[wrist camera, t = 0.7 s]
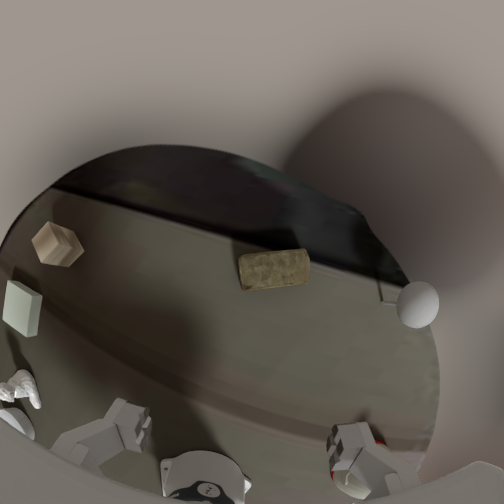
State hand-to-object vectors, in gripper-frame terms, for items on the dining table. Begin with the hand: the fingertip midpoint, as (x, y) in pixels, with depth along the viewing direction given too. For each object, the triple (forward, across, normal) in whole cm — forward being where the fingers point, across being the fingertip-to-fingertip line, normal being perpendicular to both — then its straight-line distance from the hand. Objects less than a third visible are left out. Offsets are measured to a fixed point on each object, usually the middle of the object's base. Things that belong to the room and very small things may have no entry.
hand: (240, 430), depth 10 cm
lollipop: (+36, +25, -7) cm, 45 cm away
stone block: (+37, +3, -3) cm, 37 cm away
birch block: (+34, -36, -2) cm, 50 cm away
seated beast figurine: (+23, -48, -33) cm, 63 cm away
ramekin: (+18, -54, -46) cm, 73 cm away
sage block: (+29, -48, -16) cm, 58 cm away
